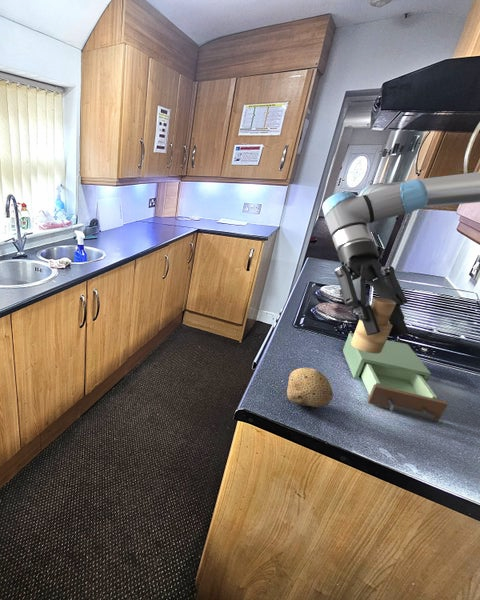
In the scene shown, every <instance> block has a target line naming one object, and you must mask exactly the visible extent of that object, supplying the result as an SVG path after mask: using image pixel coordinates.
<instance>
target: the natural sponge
mask: <svg viewBox="0 0 480 600" xmlns="http://www.w3.org/2000/svg"><path fill="white" fill-rule="evenodd" d="M286 388H287V389H286V396H287V399H288V401H290V402H291V403H294V404H295V405H298V406H300V407H312V408H322V407H325V406H328V405H329V404H330V403H331V402H332V400H333V397H334V392H333V390H332V386H331V383H330V381H329V379H328V378H327V376H326V375H324V373H322V372H321V371H319V370H318V369H315V368H312V367H300V368H296V369H294V370H292V371H291V372H290V374H289V376H288V382H287V387H286Z"/></svg>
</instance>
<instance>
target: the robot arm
mask: <svg viewBox="0 0 480 600" xmlns="http://www.w3.org/2000/svg"><path fill="white" fill-rule="evenodd" d="M474 203H475V204H477V203H480V171H477V172H468V173H467V172H466V173H460V174H452V175H443V176H433V177H426V178H413V179H410V180H404V181H394V182H393V181H392V182H386V183H383V182H378V183H373V184H370V185H368V186H366V187H364V188H363V189H362V190H361V191H360V193H359V195H358V196H357V195H356V194H355V193H354V192H352V191H345V192H344V191H340V192H338V193H337V192H336V193H334V194H333V195H330V196H329V197H328V198H327V199H326V200H325V201H324V202H323V203H322V207H321V208H322V212H323V217H324V220H325V223H326V225H327V228H328V231H329V233H330V236H331V239H332V241H333V244H334V248H335V250H336V252H337V256H338V259H339V262H340V264H341V266H339V267H338V268H336V269H334V270H333V273H334V275H335V276H336V278H337V280H338V283H339V286H340V291H341V294H342V298H343V301H344V305H345V306H347V307H350V309H351V310H352V311H356V314H357V317H358V319H359V320H361V321H362V322H363V325H364V328H365V330H366V333H367V335H373V334H376V333H379V332H380V329H379V326H378V324H377V321H376V318H375V316H374V313H373V310H372V307H371V304H367V285H368V286H371V287H372V288H373V289H374V291H375V292H376V294H377V295H378V296H379V298H385V299H389V300H392V301H394V302H396V305H395V307H394V310H393V312H392V314H391V317H390V319H389V321H388V322H389V323H391V324H392V329H391V331H392V333H393V335H394V336H398V337H399V336H401V335H404V334H409V328H408V326H407V324H406V322H405V315H404V313H403V311H402V307H401V306H402V305H406V304H407V303H408V299H407V297H406V295H405V293H404V290H403V289H402V286H401V285H400V283H399V280H398V278H397V277H396V274H395V267H394V266H392V265H390V266H387V267H386V266H382V264H381V263H380V262H379V261H378V257H379V255H380V253H379V250H378V248H377V245H376V244H375V242H374V238H373V235H372V233H371V231H370V228H369V226H368V224H373V223H375V222H378V221H382V220H387V219H390V218H393V217H397V216H402V215H405V214H410V213H412V212H415V211H418V210H421V209H423V208H429V207H440V206H451V205H463V204H474Z"/></svg>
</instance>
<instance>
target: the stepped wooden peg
mask: <svg viewBox="0 0 480 600" xmlns="http://www.w3.org/2000/svg"><path fill="white" fill-rule="evenodd" d="M370 305H371V307H372V310H373V313H374V316H375V318H376V321H377V324H378V326H379V329H380V332H379V333H376V334H373V335H367V333H366V330H365V328H364V325H363V322H362V321H361V320H360V319H359V320H358V321H357V325H356V328H355V330H354V333H353V334H354V335H353V338H352V340H351V345H352V346H353V347H355V348H357V349H359V350H361V351H364V352H368V353H375V354H377V353H381V352H382V349H383V347H384V345H385V342H386V340H388V338H389V336H390V334H391V331H392V324H391V323H390V322H389V319H390V317H391V314H392V312H393V310H394V307H395V305H396V302H394V301H392V300H389V299H385V298H380V297H373V299H372V301H371V304H370Z"/></svg>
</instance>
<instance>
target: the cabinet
mask: <svg viewBox="0 0 480 600" xmlns="http://www.w3.org/2000/svg"><path fill="white" fill-rule="evenodd" d="M353 335H354V333H353V332H349V333H348V336H347V338H346V340H345V344H344V346H343V349H342V352H343V355H344V358H345V360H346V363H347V366H348V369H349V370H350V372H351V375H352V377H353V379H355V380H360V381H363V379H362V377H361V375H360V372H361V370H362V368H363V365H364V363H365V362H367V363H372V364H376V365H381V366H385V367H390V368H394V369H399V370H403V371H408V372H412V373H417V374H420V375H421V376H422V377H423V379H424V380H425V381H426V383H428V380H429V378H430V376H431V374H432V373H431V372H430V370H429V368H427V367H426V365H425V364H424V362H422V360H421V359H420V358H419V356H418V355H417V353H415V351H414V350H413V349H412V348H411V346H410V345H409V344H408V343H404V342H399V341H394V340H388V339H387V340H386V342H385V345H384V347H383V349H382V352H381V353H377V354H375V353H368V352H364V351H361V350H359V349H357V348H355V347H353V346H352V345H351V340H352V338H353Z"/></svg>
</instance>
